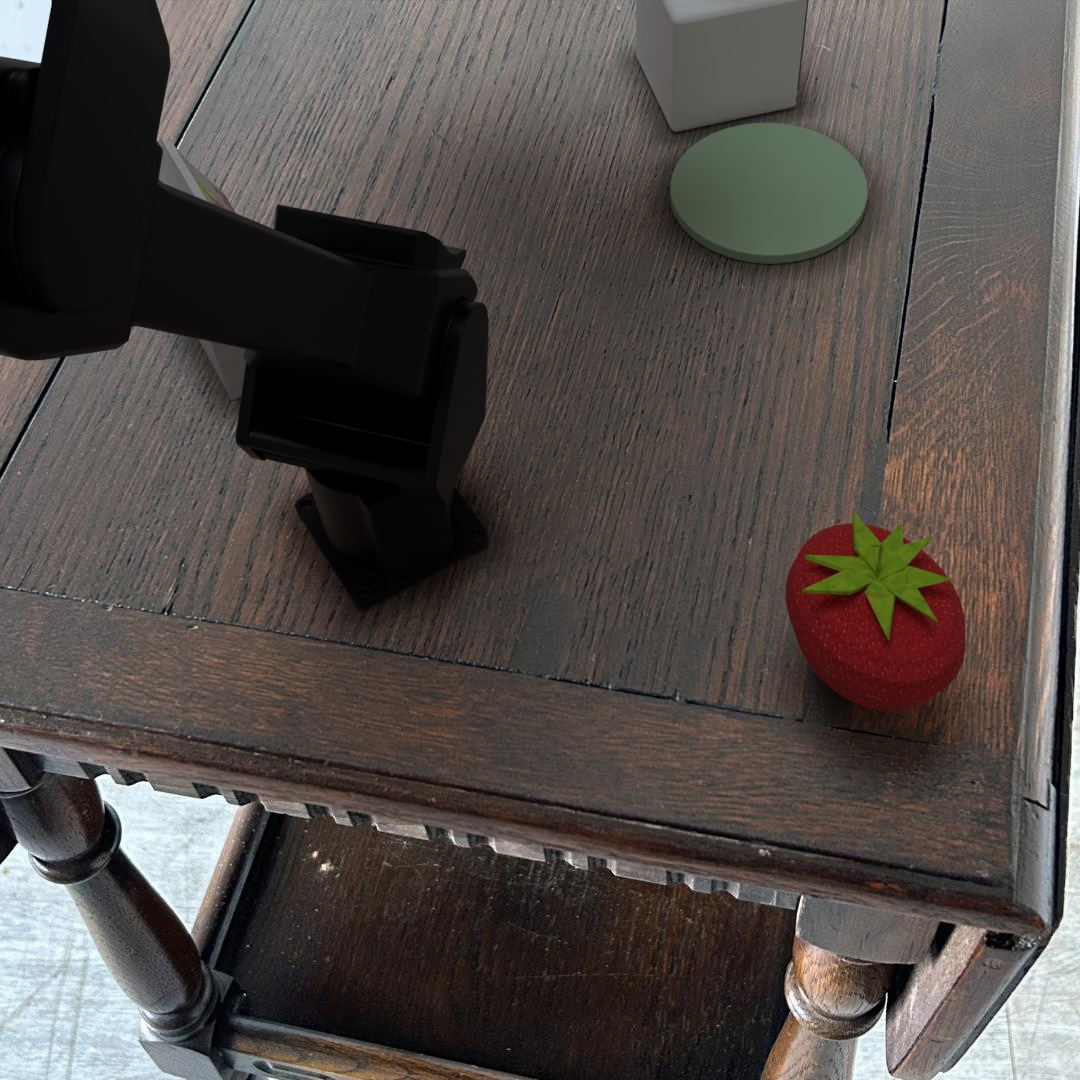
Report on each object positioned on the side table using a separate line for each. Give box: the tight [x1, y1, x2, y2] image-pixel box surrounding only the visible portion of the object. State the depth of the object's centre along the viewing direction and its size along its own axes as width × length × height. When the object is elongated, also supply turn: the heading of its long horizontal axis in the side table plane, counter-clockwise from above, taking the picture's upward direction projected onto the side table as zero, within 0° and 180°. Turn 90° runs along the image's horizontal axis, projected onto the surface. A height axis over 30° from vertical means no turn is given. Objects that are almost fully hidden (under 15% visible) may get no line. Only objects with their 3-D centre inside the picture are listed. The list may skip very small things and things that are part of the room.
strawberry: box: [785, 511, 966, 713], centre depth 52 cm, size 6×8×10 cm
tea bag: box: [159, 135, 246, 401], centre depth 64 cm, size 4×7×10 cm, turn 28°
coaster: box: [669, 122, 869, 265], centre depth 72 cm, size 10×10×1 cm
